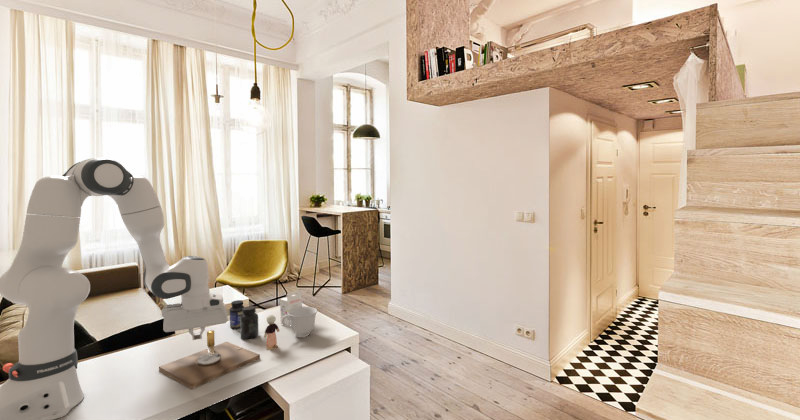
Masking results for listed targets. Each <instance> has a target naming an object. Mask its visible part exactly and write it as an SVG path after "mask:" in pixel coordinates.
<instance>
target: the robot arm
mask: <svg viewBox="0 0 800 420" xmlns="http://www.w3.org/2000/svg"><path fill="white" fill-rule="evenodd" d="M92 196H93V197H103V196H108V197H110V198H112V199H113V200H114V202H115V204H116V205H117V207H118V208H117V209H118V212H119V214H120V217H121V220H122V222H123V224H124V225H125V228H126V229H127V231H128V233H129V235H130V236H131V237H132V238H133V239H134V241H135V242H136V243H137V246H138V250H139V252H140V254H141V258H142V261H143V264H144V273H143V285H144V286H145V288H146V289H148V290H149V291H150V292H151V293H152V294H153V296H155V297H156V298H159V299H162V300H163V299H164V300H167V299H172V298H176V297H179V296H180V297H181V299H180V300H181V302H179V303H171V304H170V303H169V304H166V305H165V306H163V308H162V309H161V316H162V318H163V326H162V327H163V329H162V330H163V332H165V333H170V332H178V331H185V330H188V333H189V334H190V335H191V336H192V341H195V340H202V339H203V333H204V331H205V329H206V327H209V326H216V325H221V324H222V325H223V324H226V323H227V322H228V320H229V319H228V311H227V307H226V304H225V303H224V297H223V295H222V294H218V293H217V294H216V293H210V292H211V291H210V289H209V282H210V275H209V274H210V272H209V266H208V262H207V260H206V259H205V258H203V257H200V256H195V255H188V256H183V257H181V259H180V260H178V261H177V262H175V263H173V264H172V265H170V264H169V263H168V262H167V260H166V257H165V254H164V251H163V248H162V243H161V239H160V236H161V232H162V230H163V228H164V226H165V218H164V212H163V209H162V205H161V202H160V200H159V197H158V195H157V193H156V191H155V189H154V187H153V185H152V184H151V182H150V180H149V179H148V178H146V177H144V176H141V175H135V174H134V175H132V173H131V172H130V171H128V170H127V169H126V168H125V167H124V166H123V165H122V164H121V163H120V162H118V161H116V160H115V159H111V158H108V157H96V158H87V159H84V160H82V161H79V162H77V163H74V164H73V165H71V166H70V167H69V168H68V170H67V171H65V173H64V174H62V175H49V176H44V177H41V178H39V179H38V180H37V181H36V182H35V185H34V186H33V189H32V192H31V194H30V197H29V200H28V203H27V207H26V214H25V220H24V226H23V227H24V228H23V232H22V233H23V234H22V239H21V243H20V246H19V248H18V251H17V253H16V255H15V257H14V259H13V260H12V261H13V262H12V263H11V266H10V267H9V268H8V269H7V270H6V271H5V272H4V273H3V274H2V275H1V276H0V295H1V297H2V298H4V299H5V300H7V301H9V302H11V303H12V304H16V305H21V306H27V308H28V313H27V318H26V322H25V324H24V326H23V327H22V328H21V329H20V330H19V332H18V334H17V342H18V361H17V362H16V363H15V364H14V363H11V362H9V363H6V364H4V365H3V366H2V370H3V371H4V372H5V373H7V374H8V379H7V380H6V381H5V382H3V383H2V384H1V385H0V420H56V419H58V418H59V419H60V418H63V417H64V416H66V415H67V414H68V413H69V412H70V411H71V410H72V409H73V408H74V407H76V406H77V405H78V404H80V403H81V402H82V401H83V399H84V398H85V394H84V391H83V389H82V387H81V384H80V381H79V377H78V372H77V369H78V362H79V361H78V353H77V349H76V348H75V329H74V328H75V327H74V326H75V319H76V315H77V312H78V309H79V307H80V305H81V304H82V303H83V302H85V300H86V299H87V297H88V296H89V294H90V292H91V282H90V281H89V279H88V278H87V276H86V275H85V274H82V273H80V272H78V271H76V270H74V269H71V268H68V267H63V264H64V262H65V259H66V257H67V255H68V254H69V252H71V251H72V249H74V248H75V247H76V245H77V243H78V237H79V230H80V225H81V215H82V207H83V204H84V202H85V201H86V199H87V198H89V197H92ZM196 328H197V329H198V328H200V331H199V332H198V333H195V332H194V329H196Z"/></svg>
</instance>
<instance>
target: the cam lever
mask: <svg viewBox="0 0 800 420" xmlns="http://www.w3.org/2000/svg"><path fill="white" fill-rule="evenodd" d="M215 341H216V340H215V330H213V329H211V330H208V331H206V345H207V349H208V354H206V355H203V356H201V357H199V358H198V364H199V365H203V366H205V365H212V364H215V363H217V362H219V361H220V359H221V355H220V354H218V353H214V346H216V345H215V343H216V342H215Z"/></svg>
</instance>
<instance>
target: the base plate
mask: <svg viewBox="0 0 800 420" xmlns="http://www.w3.org/2000/svg"><path fill="white" fill-rule="evenodd" d="M214 353H218V354H220V355H221V359H220V361H219V362H217V363H215V364H212V365H205V366H203V365H199V364H198V358H199V357H201V356H203V355H206V354H208V348H206V349H203V350H200V351H198V352H195V353H192V354H190V355H187V356H185V357H182V358H179V359H176V360H174V361H171V362H168V363H165V364H163V365H159V366H158V371H159V372H160V373H162V374H163V375H165V376H166V377H169V378H171V379H172V380H175V381H176V382H178V383H180V384H181V385H184V386H185V387H187V388H188V389H190V390H193V389H195V388H197V387H200V386H202V385H204V384H206V383H209V382H211V381H213V380H215V379H218V378H220V377H222V376H224V375H227V374H229V373H231V372H234V371H235V370H238V369H240V368H242V367H244V366H247V365H249V364H251V363H254V362H255V361H259V360H260V359H261V354H260V353H258V352H254V351H252V350H249V349H246V348H243V347H242V346H239V345H237V344H233V343H231V342H229V341H224V342H222V343H219V344H217V345H214Z"/></svg>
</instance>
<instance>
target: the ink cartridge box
mask: <svg viewBox="0 0 800 420" xmlns="http://www.w3.org/2000/svg"><path fill="white" fill-rule="evenodd" d="M279 301H280V302H279V305H280V325H281V324H282V317H283V316H284V315H288V314H287V312H288V311H289V310H291V309H293V308H297V307H303V296H302V290H301V289H299V290H298V289H297V290H295V291H291V292H287V294H286V297H283V298H280V300H279ZM288 316H289V315H288ZM284 323H285V324H288V325H291V324H290V320H288V319H287V318H285V319H284Z"/></svg>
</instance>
